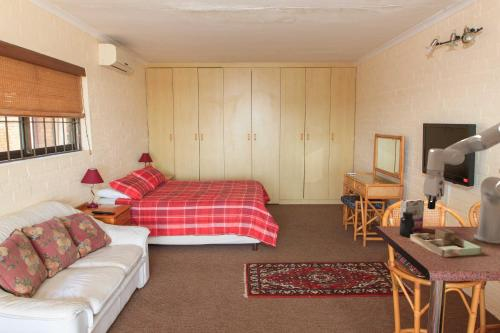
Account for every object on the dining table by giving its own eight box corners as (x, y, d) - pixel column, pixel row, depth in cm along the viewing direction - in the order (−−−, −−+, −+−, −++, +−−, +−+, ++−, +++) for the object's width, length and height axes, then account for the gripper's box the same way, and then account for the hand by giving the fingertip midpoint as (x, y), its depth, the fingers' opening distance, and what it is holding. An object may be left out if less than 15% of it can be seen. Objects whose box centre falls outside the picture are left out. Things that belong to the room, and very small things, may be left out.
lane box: (445, 237, 180) (445, 232, 179) (481, 254, 158) (481, 247, 158) (409, 240, 176) (410, 234, 175) (442, 257, 154) (442, 250, 154)
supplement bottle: (415, 237, 179) (416, 214, 178) (400, 236, 181) (402, 213, 179) (411, 233, 186) (413, 211, 184) (397, 232, 187) (399, 210, 186)
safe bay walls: (465, 246, 167) (465, 240, 167) (481, 254, 158) (481, 247, 158) (429, 249, 163) (430, 243, 163) (444, 256, 155) (444, 250, 154)
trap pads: (427, 239, 176) (427, 239, 176) (452, 252, 160) (452, 251, 160) (413, 240, 175) (413, 240, 175) (437, 253, 159) (437, 252, 159)
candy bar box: (416, 227, 198) (418, 198, 195) (422, 229, 193) (425, 200, 191) (398, 228, 195) (400, 199, 192) (405, 231, 190) (407, 201, 188)
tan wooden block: (445, 240, 176) (446, 228, 176) (454, 244, 171) (455, 232, 170) (434, 241, 175) (435, 229, 174) (443, 245, 169) (444, 233, 169)
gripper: (452, 175, 172) (448, 212, 174) (431, 171, 186) (427, 205, 189) (439, 175, 170) (435, 213, 173) (418, 171, 185) (415, 205, 187)
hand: (431, 208), depth 181 cm, fingers closed
